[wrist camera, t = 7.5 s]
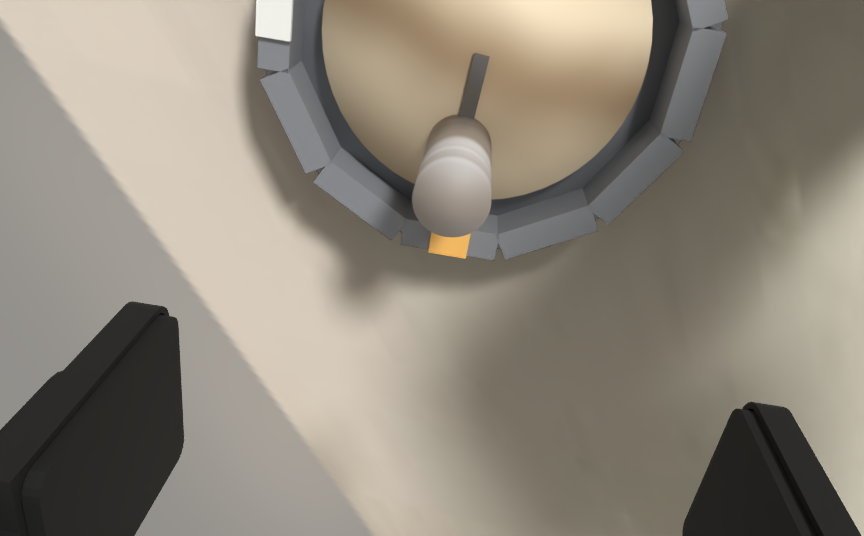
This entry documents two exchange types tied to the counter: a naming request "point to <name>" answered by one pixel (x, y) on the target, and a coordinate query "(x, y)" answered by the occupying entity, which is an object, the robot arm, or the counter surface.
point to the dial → (484, 92)
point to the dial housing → (508, 218)
